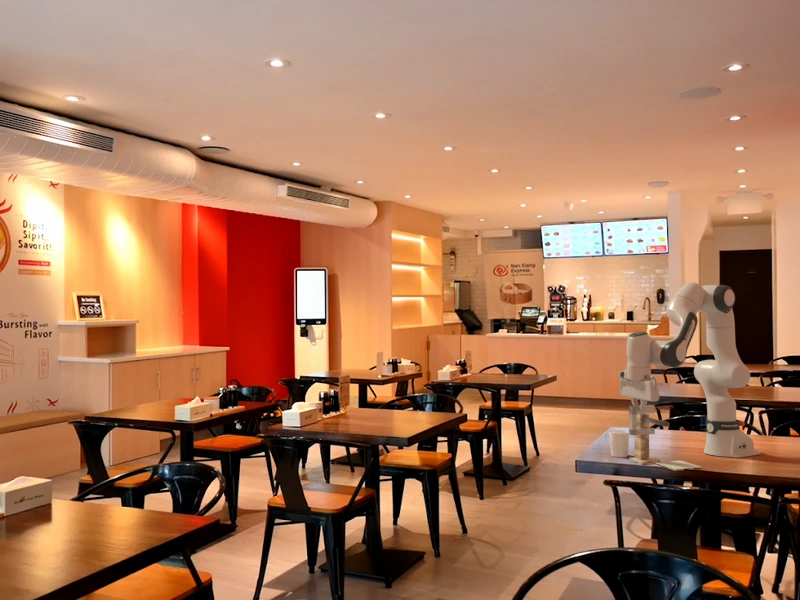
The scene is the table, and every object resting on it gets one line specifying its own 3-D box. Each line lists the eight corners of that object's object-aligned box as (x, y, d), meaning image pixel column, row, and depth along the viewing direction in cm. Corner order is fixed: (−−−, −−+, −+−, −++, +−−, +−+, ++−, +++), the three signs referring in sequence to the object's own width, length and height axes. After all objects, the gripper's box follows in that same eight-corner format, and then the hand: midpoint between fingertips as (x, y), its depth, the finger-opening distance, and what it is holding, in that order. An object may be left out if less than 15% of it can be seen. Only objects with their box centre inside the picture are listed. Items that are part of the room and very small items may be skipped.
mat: (680, 461, 284) (680, 460, 284) (701, 468, 273) (701, 466, 273) (655, 464, 281) (655, 462, 281) (675, 470, 269) (675, 469, 269)
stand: (648, 458, 291) (647, 412, 291) (677, 468, 273) (677, 418, 274) (629, 460, 288) (628, 413, 288) (657, 470, 271) (657, 419, 271)
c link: (651, 432, 277) (651, 405, 277) (654, 433, 275) (654, 405, 275) (629, 434, 274) (628, 406, 274) (632, 435, 272) (632, 406, 272)
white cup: (630, 458, 292) (630, 433, 292) (610, 457, 294) (610, 433, 294) (628, 454, 300) (628, 430, 300) (608, 453, 302) (608, 429, 302)
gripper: (663, 376, 266) (663, 413, 265) (630, 372, 285) (630, 406, 285) (648, 377, 264) (649, 414, 264) (616, 372, 283) (616, 407, 283)
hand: (639, 410), depth 274 cm, fingers closed on c link, 2 cm apart
